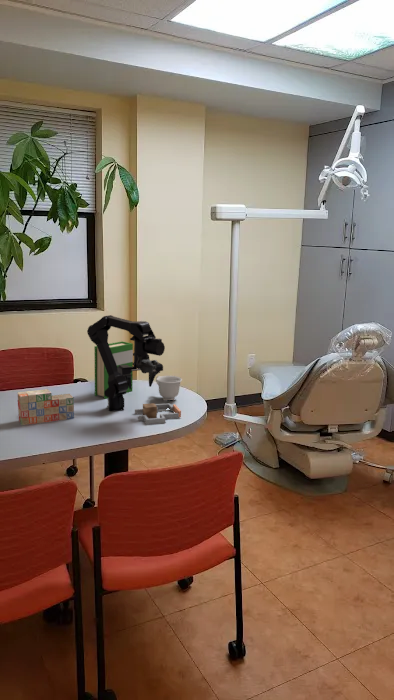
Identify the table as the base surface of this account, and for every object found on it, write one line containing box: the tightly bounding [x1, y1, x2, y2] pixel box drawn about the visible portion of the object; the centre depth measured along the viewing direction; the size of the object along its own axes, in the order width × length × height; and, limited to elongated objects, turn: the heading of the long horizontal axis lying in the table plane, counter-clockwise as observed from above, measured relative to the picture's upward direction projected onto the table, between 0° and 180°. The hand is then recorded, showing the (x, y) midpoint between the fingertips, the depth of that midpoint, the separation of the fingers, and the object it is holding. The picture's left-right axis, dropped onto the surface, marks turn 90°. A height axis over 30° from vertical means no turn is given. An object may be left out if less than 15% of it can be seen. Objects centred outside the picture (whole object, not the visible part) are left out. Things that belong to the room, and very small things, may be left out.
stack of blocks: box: [17, 388, 75, 426], centre depth 223 cm, size 21×6×12 cm, turn 118°
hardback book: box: [93, 340, 134, 400], centre depth 261 cm, size 18×7×24 cm, turn 141°
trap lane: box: [134, 403, 182, 425], centre depth 233 cm, size 18×19×3 cm
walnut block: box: [142, 402, 158, 419], centre depth 232 cm, size 5×5×5 cm
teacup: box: [155, 375, 183, 401], centre depth 257 cm, size 12×15×10 cm
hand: (140, 387), depth 231 cm, fingers open, 9 cm apart
